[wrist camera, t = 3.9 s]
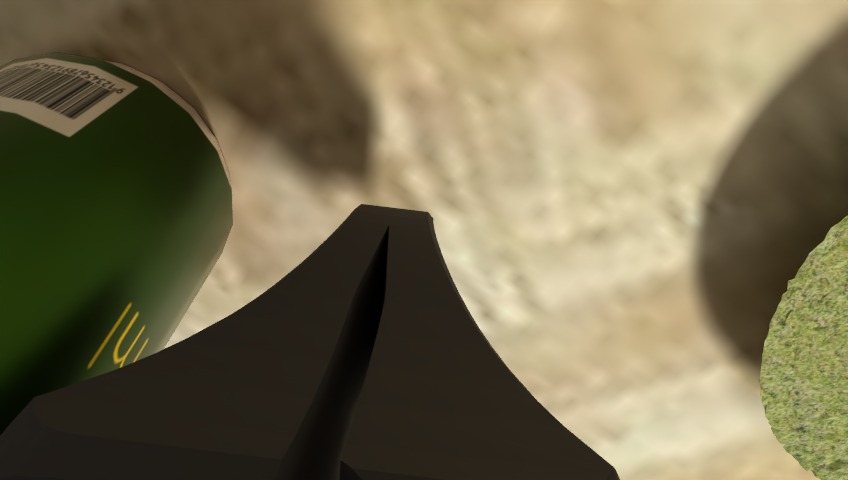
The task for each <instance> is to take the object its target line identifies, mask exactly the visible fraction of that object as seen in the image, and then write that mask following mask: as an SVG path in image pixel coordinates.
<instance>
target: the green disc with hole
mask: <svg viewBox="0 0 848 480" xmlns="http://www.w3.org/2000/svg"><path fill="white" fill-rule="evenodd" d="M759 380H760V386H761V393H760V395H761V396H762V403H763V406H764V408H765V417H766V418H767V419H768V420H769V424H770V425H771V426H772V427H771V429H772V431H773V434H774V435H775V436H776V438H777V439H778V441H779V442H780V443H781V444H786V445H784V446H783V448H784V449H785V450H786V451H787V452H788V453H789V454H791V455H792V456H793V457H794V458H795V459H796V460H797V461H798V462H799V464H800V465H801V466H802V467H803V468H804V469H805V470H806V471H810V470H811V471H812V472H813V474H814V475H815V476H816V477H817V478H819V479H821V480H848V215H847V216H846V217H845V218H844V219H843V220H842V221H840V222H839V223H838V224H836V225H834V226H833V227H831V228H830V230H829V232H828V234H827V235H826V237H825V240H824V241H823V242H822V243H821V244H819V245H818V246H817V247H816V248H815V249H814V250H812V251H811V252H810V253H809V254H808V256H807V258H806V260H805V262H804V263H803V265H802V266H801V267H800V269H799V270H798V272H797V274H796V276H795V278H794V279H792V280H789V281H788V287H787V292H785V293H784V294H782V299H781V301H780V303H779V305H778V307H777V310H776V312H775V314H774V316H773V318H772V320H771V322H770V325H769V332H768V336H767V338H766V340H765V342H764V349H763V354H762V364H761V372H760V378H759Z"/></svg>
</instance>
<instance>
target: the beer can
mask: <svg viewBox="0 0 848 480" xmlns="http://www.w3.org/2000/svg"><path fill="white" fill-rule="evenodd" d="M232 225H233V218H232V188H231V182H230V176H229V171H228V168H227V166H226V163H225V160H224V158H223V155H222V152H221V150H220V147H219V144H218V142H217V139H216V138H215V136H214V135H213V134H212V132H211V131H210V130H209V128H208V127H207V126H206V124H205V123H204V121H203V120H202V119H201V117H200V116H199V115H198V113H197V112H196V111H195V109H194V108H193V107H192V106H191V105H189V104H188V103H187V102H186V101H184V100H183V99H182V98H181V97H180V96H178V95H177V94H176V93H175V92H173V91H172V90H171V89H170V88H169V87H167V86H166V85H165V84H164V83H162V82H161V81H159V80H157V79H155V78H152V77H150V76H148V75H146V74H144V73H142V72H140V71H137V70H135V69H133V68H131V67H129V66H127V65H125V64H121V63H116V62H111V61H105V60H100V59H94V58H88V57H82V56H76V55H70V54H64V53H51V54H45V55H39V56H33V57H27V58H21V59H16V60H13V61H11V62H9V63H7V64H5V65H3V66H1V67H0V436H1V434H2V433H3V432H4V431H5V429H6V428H7V427H8V426H9V425H10V423H11V422H12V421H13V420H14V419H15V418H16V417H17V416H18V415H19V414H20V413H21V411H22V410H23V409H24V408H25V407H26V406H27V405H28V404H29V403H30V402H31V400H32V399H33V398H34V397H36V396H39V395H43V394H46V393H49V392H52V391H55V390H58V389H61V388H64V387H67V386H70V385H73V384H76V383H78V382H81V381H84V380H87V379H90V378H93V377H96V376H99V375H102V374H105V373H107V372H110V371H113V370H115V369H118V368H121V367H123V366H126V365H128V364H131V363H133V362H135V361H138V360H140V359H143V358H145V357H147V356H150V355H152V354H154V353H157V352H159V351H161V350H163V349H164V347H165V346H166V344H167V342H168V341H169V339H170V337H171V336H172V334H173V333H174V331H175V329H176V328H177V326H178V324H179V323H180V321H181V319H182V318H183V316H184V315H185V313H186V311H187V310H188V308H189V306H190V305H191V303H192V301H193V300H194V298H195V296H196V295H197V293H198V292H199V290H200V288H201V287H202V285H203V283H204V282H205V280H206V278H207V277H208V275H209V273H210V272H211V270H212V269H213V267H214V265H215V264H216V262H217V260H218V259H219V257H220V255H221V254H222V251H223V249H224V246H225V243H226V241H227V238H228V235H229V233H230V230H231V228H232Z"/></svg>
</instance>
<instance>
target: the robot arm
mask: <svg viewBox="0 0 848 480" xmlns="http://www.w3.org/2000/svg"><path fill="white" fill-rule="evenodd" d="M0 480H620V479H619V476H618V474H617V472H616V470H615V468H614V467H613V466H611V465H610V464H609V463H608V462H607V461H605V460H604V459H603V458H602V457H601V456H599V455H598V454H597V453H596V452H594V451H593V450H592V449H591V448H590V447H588V446H587V445H586V444H585V443H584V442H582V441H581V440H580V439H579V438H577V437H576V436H575V435H574V434H573V433H571V432H570V431H569V430H568V429H567V428H565V427H564V426H563V425H562V424H561V423H560V422H559V421H558V420H557V419H556V418H555V417H554V416H552V415H551V414H550V413H549V412H548V411H547V410H546V409H545V408H544V407H543V406H542V405H541V404H540V403H539V402H538V401H537V400H536V399H535V398H534V397H533V396H532V394H531V393H530V392H529V391H528V390H527V389H526V388H525V387H524V385H523V384H522V383H521V382H520V381H519V380H518V379H517V378H516V377H515V375H514V374H513V373H512V372H511V371H510V370H509V369H508V367H507V366H506V365H505V363H504V362H503V361H502V360H501V358H500V357H499V356H498V354H497V353H496V352H495V350H494V349H493V348H492V346H491V345H490V343H489V342H488V340H487V339H486V338H485V336H484V335H483V333H482V332H481V330H480V329H479V327H478V326H477V324H476V322H475V321H474V319H473V317H472V316H471V314H470V312H469V311H468V309H467V307H466V305H465V303H464V301H463V300H462V298H461V296H460V294H459V292H458V290H457V288H456V286H455V284H454V282H453V280H452V277H451V275H450V273H449V270H448V268H447V266H446V264H445V261H444V259H443V256H442V253H441V250H440V247H439V244H438V241H437V238H436V234H435V230H434V225H433V218H432V217H431V215H430V214H429V213H428V212H423V211H414V210H406V209H398V208H390V207H381V206H373V205H365V204H361V205H360V206H358V207H357V208H356V209H355V210H354V211H353V212H352V213H351V214H350V215H349V216H348V218H347V219H346V220H345V221H344V222H343V223H342V224H341V225H340V226H339V227H338V228H337V229H336V230H335V231H334V232H333V233H332V235H331V236H330V237H329V238H328V239H327V240H326V241H324V242H323V243H322V244H321V245H320V246H319V247H318V248H317V249H316V250H315V251H314V252H313V253H312V254H311V255H310V256H309V257H307V258H306V259H305V260H304V261H303V262H302V263H301V264H299V265H298V266H297V267H296V268H295V269H293V270H292V271H291V272H290V273H288V274H287V275H286V276H285V277H284V278H282V279H281V280H280V281H279V282H277V283H276V284H275V285H274V286H272V287H271V288H270V289H268V290H267V291H266V292H264V293H263V294H261V295H260V296H259V297H257V298H256V299H254V300H253V301H251V302H250V303H248V304H247V305H245V306H244V307H242V308H241V309H239V310H238V311H236V312H234V313H233V314H231V315H229V316H228V317H226V318H224V319H222V320H220V321H218V322H216V323H215V324H213V325H211V326H209V327H207V328H205V329H203V330H202V331H200V332H198V333H196V334H194V335H192V336H191V337H189V338H187V339H185V340H183V341H181V342H179V343H176V344H174V345H172V346H170V347H168V348H165V349H163V350H161V351H159V352H157V353H154V354H152V355H150V356H147V357H145V358H143V359H140V360H138V361H135V362H133V363H131V364H128V365H126V366H123V367H121V368H118V369H115V370H113V371H110V372H107V373H105V374H102V375H99V376H96V377H93V378H90V379H87V380H84V381H81V382H78V383H76V384H73V385H70V386H67V387H64V388H61V389H58V390H55V391H52V392H49V393H46V394H43V395H39V396H36V397H34V398H33V399H32V400H31V402H30V403H29V404H28V405H27V406H26V407H25V408H24V409H23V410H22V411H21V413H20V414H19V415H18V416H17V417H16V418H15V419H14V420H13V421H12V422H11V423H10V425H9V426H8V427H7V428H6V429H5V431H4V432H3V433H2V434H1V436H0Z"/></svg>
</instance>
